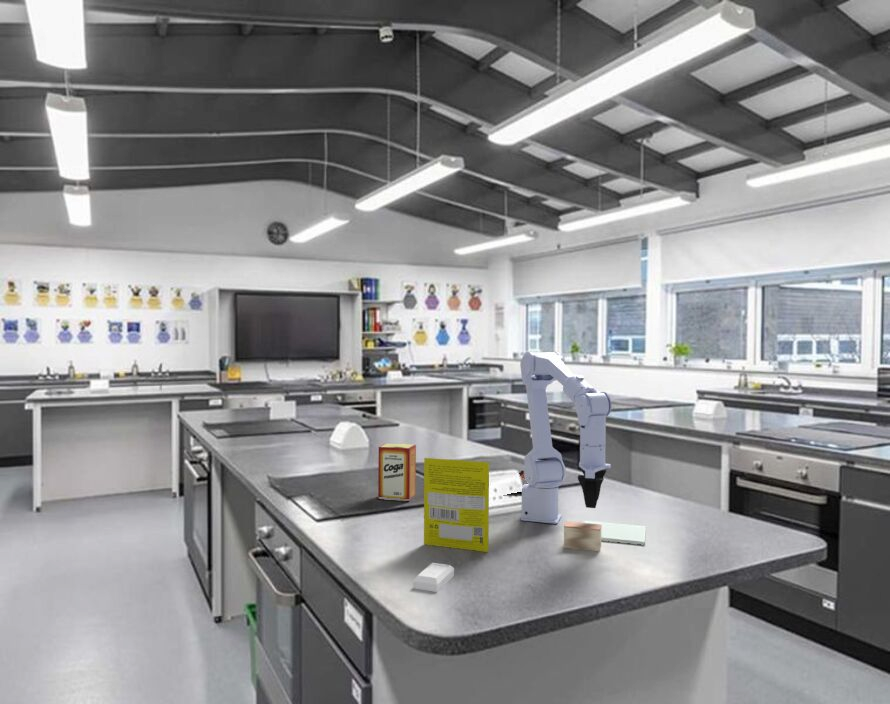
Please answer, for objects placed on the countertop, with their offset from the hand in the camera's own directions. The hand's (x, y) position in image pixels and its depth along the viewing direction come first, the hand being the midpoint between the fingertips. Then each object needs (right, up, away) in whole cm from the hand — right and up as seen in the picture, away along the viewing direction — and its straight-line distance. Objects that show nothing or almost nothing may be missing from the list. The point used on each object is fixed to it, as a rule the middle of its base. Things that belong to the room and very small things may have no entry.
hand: (592, 503), depth 144 cm
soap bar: (-36, -10, -23) cm, 44 cm away
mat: (+7, -9, +8) cm, 14 cm away
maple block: (-2, -10, -1) cm, 10 cm away
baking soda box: (-48, -9, +42) cm, 64 cm away
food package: (-32, -10, -3) cm, 33 cm away
